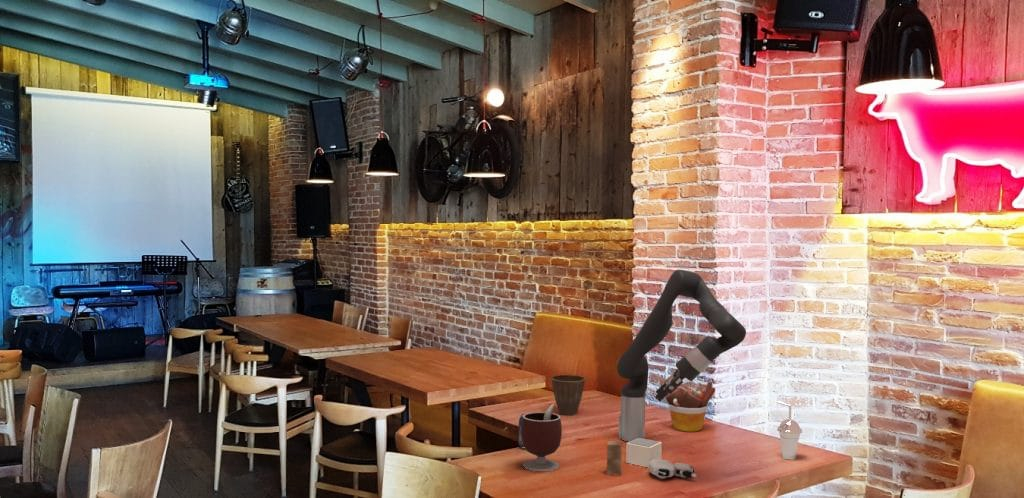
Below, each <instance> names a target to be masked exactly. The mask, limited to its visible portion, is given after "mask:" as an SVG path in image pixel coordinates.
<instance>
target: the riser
mask: <svg viewBox="0 0 1024 498" xmlns="http://www.w3.org/2000/svg"><path fill="white" fill-rule="evenodd" d="M662 443H663V442H661V441H657V440H652V439H647V438H644V439H643V438H637V439H635V440H633V441H631V442H626V443H625V444H626V448H625V449H626V450H625V451H626V452H625V453H626V454H625V455H626V456H625V461H626V462H627V463H631V464H630V465H632V464H635V465H634V466H636V465H640V466H639V467H641V466H644V467H643V468H645V467H648V468H647V469H649V462H650V461H651V460H649V459H648V458H650V459H660V460H662V457H663V456H662V451H663V450H662V447H663V444H662ZM626 462H625V463H626ZM627 463H626V464H627Z"/></svg>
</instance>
